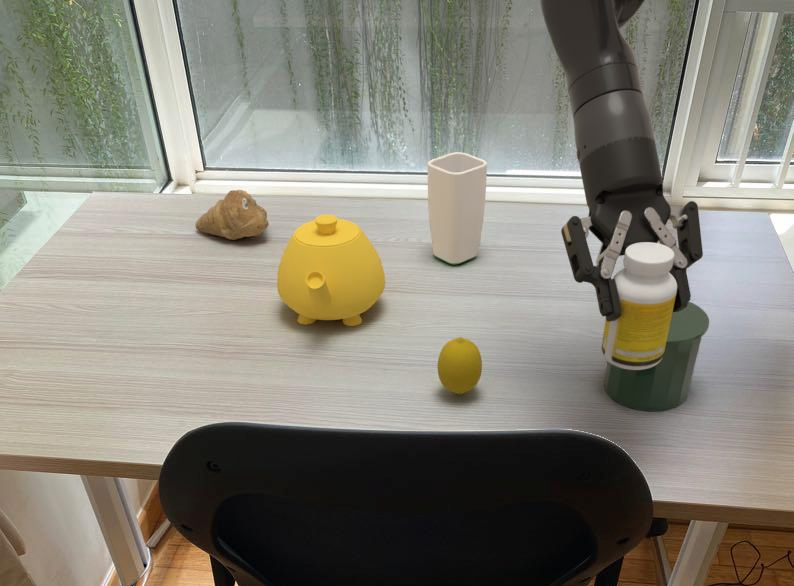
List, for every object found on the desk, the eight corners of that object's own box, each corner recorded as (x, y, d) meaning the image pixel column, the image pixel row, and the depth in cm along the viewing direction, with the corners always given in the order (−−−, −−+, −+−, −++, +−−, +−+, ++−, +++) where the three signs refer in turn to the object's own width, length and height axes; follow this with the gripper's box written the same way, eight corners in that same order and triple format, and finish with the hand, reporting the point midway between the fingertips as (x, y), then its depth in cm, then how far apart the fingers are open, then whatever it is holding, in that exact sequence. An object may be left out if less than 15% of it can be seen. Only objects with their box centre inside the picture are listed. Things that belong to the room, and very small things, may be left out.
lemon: (461, 377, 114) (463, 322, 109) (489, 395, 111) (492, 339, 106) (428, 391, 112) (428, 336, 107) (456, 411, 109) (457, 354, 103)
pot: (693, 374, 113) (709, 307, 107) (681, 418, 106) (697, 349, 100) (612, 360, 116) (623, 294, 110) (596, 402, 109) (606, 334, 103)
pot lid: (712, 310, 107) (721, 275, 104) (700, 356, 100) (709, 320, 97) (619, 296, 111) (625, 262, 108) (600, 340, 103) (606, 304, 100)
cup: (453, 271, 137) (455, 175, 126) (423, 256, 141) (422, 162, 131) (487, 257, 140) (491, 162, 130) (456, 243, 144) (458, 150, 134)
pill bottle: (671, 370, 91) (694, 264, 83) (610, 375, 90) (627, 269, 82) (651, 338, 95) (671, 235, 87) (592, 343, 95) (608, 240, 87)
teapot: (374, 354, 119) (370, 258, 110) (263, 350, 121) (249, 256, 112) (392, 285, 134) (389, 196, 124) (292, 283, 135) (282, 194, 126)
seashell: (210, 256, 153) (187, 252, 146) (197, 209, 152) (174, 203, 144) (280, 233, 149) (260, 228, 141) (267, 185, 148) (247, 177, 140)
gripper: (561, 142, 83) (594, 313, 83) (700, 125, 85) (733, 292, 85) (537, 177, 91) (567, 335, 90) (665, 162, 93) (695, 315, 92)
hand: (647, 313), depth 88 cm, fingers closed on pill bottle, 6 cm apart
